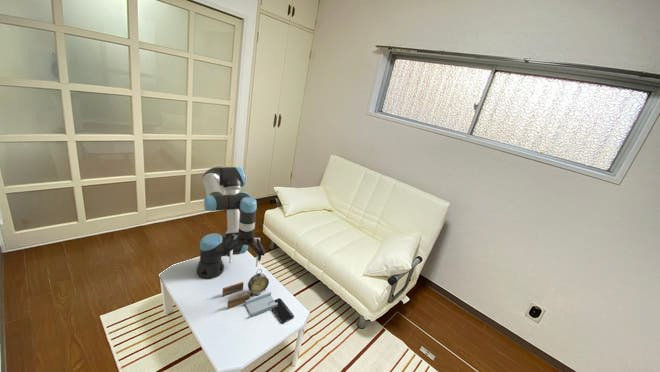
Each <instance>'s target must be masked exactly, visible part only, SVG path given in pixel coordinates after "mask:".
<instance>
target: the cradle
mask: <svg viewBox="0 0 660 372" xmlns="http://www.w3.org/2000/svg"><path fill="white" fill-rule="evenodd" d="M274 300H275V299H274V298H273V296H272V292H271V291H269V292H265V293H263V294H260V295H257V296H254V297H252V298H249V300H246V301H245V303H244V306H245V307H246V310H248V313H249V315H250V316H251V318H254V317H257V316H258V315H261V314H264V313H267V312H268V311H272V310H271V309H272V308H275V307H277V306H278V303H275V301H274ZM272 301H273V302H272ZM270 302H271V303H270ZM268 304H269V305H268Z"/></svg>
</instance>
